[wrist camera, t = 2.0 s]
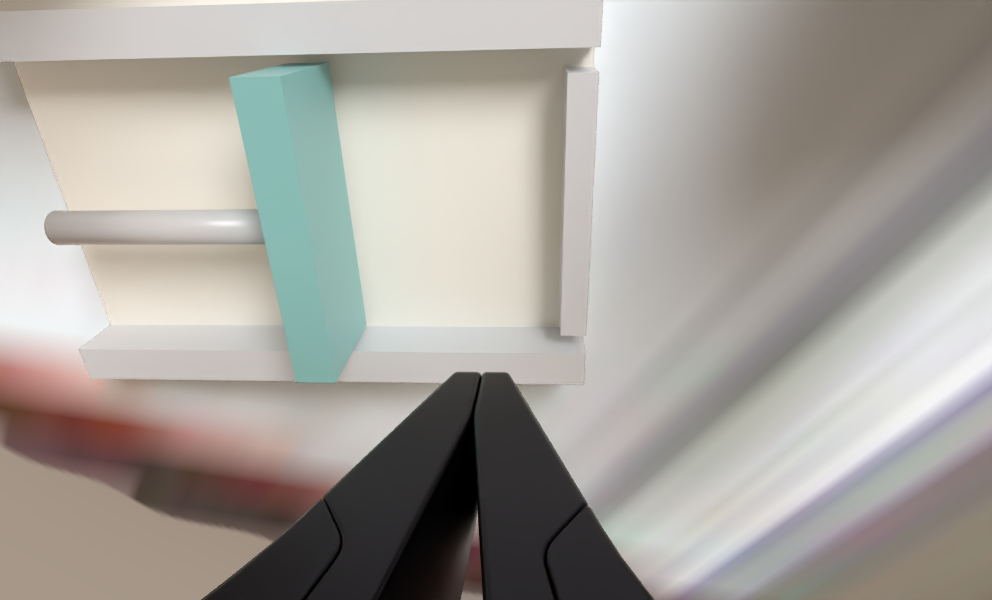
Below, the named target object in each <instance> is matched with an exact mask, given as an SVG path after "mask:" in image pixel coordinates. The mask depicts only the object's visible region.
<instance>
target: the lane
mask: <svg viewBox="0 0 992 600" xmlns="http://www.w3.org/2000/svg"><path fill="white" fill-rule="evenodd" d="M602 13H603V0H0V62H13V63H14V65H15V68H16V71H17V73H18V76H19V79H20V82H21V84H22V87H23V90H24V92H25V95H26V98H27V100H28V103H29V106H30V108H31V111H32V114H33V116H34V119H35V122H36V125H37V127H38V130H39V133H40V135H41V138H42V141H43V143H44V146H45V149H46V151H47V154H48V157H49V160H50V162H51V165H52V168H53V170H54V173H55V176H56V178H57V181H58V184H59V186H60V189H61V192H62V194H63V197H64V200H65V203H66V205H67V208H68V211H92V210H228V209H258V208H257V204H256V199H255V194H254V190H253V185H252V181H251V176H250V172H249V167H248V163H247V158H246V153H245V149H244V144H243V140H242V135H241V131H240V126H239V121H238V117H237V112H236V108H235V103H234V99H233V94H232V90H231V85H230V80H229V77H233V76H237V75H241V74H245V73H249V72H253V71H257V70H261V69H265V68H269V67H273V66H277V65H281V64H285V63H316V62H329V69H330V76H331V82H332V89H333V96H334V103H335V110H336V117H337V124H338V131H339V138H340V144H341V151H342V158H343V165H344V172H345V179H346V186H347V193H348V200H349V206H350V213H351V220H352V227H353V234H354V241H355V248H356V255H357V262H358V268H359V275H360V282H361V289H362V296H363V303H364V310H365V317H366V326H365V328H364V330H363V332H362V334H361V336H360V338H359V340H358V342H357V344H356V345H355V347H354V349H353V351H352V353H351V355H350V357H349V359H348V361H347V363H346V365H345V367H344V368H343V370H342V372H341V374H340V376H339V378H338V380H337V382H400V383H444V382H445V381H446V380H447V379H448V378H449V377H450V376H451V375H452V374H453V373H455V372H479V373H480V374H481V376H482V374H483V373H485V372H507V373H509V375H510V376H511V377H512V379H513V381H514V382H515V384H565V385H584V373H585V347H584V340H583V336H586V326H587V306H588V286H589V266H590V246H591V226H592V205H593V185H594V165H595V145H596V125H597V105H598V85H599V72H598V71H597V69H596V68H595V67H594V47H601V33H602ZM81 246H82V248H83V251H84V254H85V256H86V259H87V262H88V264H89V267H90V270H91V273H92V275H93V278H94V281H95V283H96V286H97V289H98V291H99V294H100V297H101V299H102V302H103V305H104V307H105V310H106V313H107V316H108V318H109V321H110V324H111V325H110V326H108V327H107V328H106V329H104V330H103V331H102V332H100V333H99V334H98V335H96V336H95V337H94V338H93V339H91V340H90V341H89V342H87V343H86V344H85V345H83V346H82V347H81V348H79V352H80V354H81V357H82V359H83V362H84V364H85V367H86V369H87V371H88V374H89V376H90V379H153V380H236V381H295V377H294V372H293V368H292V363H291V359H290V354H289V350H288V345H287V340H286V336H285V331H284V327H283V322H282V318H281V313H280V309H279V304H278V299H277V295H276V290H275V286H274V281H273V277H272V272H271V267H270V263H269V258H268V254H267V249H266V245H265V244H217V245H81Z"/></svg>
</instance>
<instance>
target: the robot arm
mask: <svg viewBox="0 0 992 600" xmlns="http://www.w3.org/2000/svg"><path fill="white" fill-rule="evenodd" d="M323 499H324V500H323ZM323 499H320V500H319V501H318V502H316V503H315V504H314V505H313V506H312V507H311V508H310V509H309V510H308V511H307V512H306V513H305V514H304V515H303V516H302V517H301V518H299V519H298V520H297V521H296V522H295V523H294V524H293V525H292V526H290V527H289V528H288V529H287V530H286V531H285V532H284V533H283V534H282V535H280V536H279V537H278V538H277V539H276V540H275V541H274V542H273V543H271V544H270V545H269V546H268V547H267V548H265V549H264V550H263V551H262V552H260V553H259V554H258V555H257V556H256V557H255V558H253V559H252V560H251V561H250V562H248V563H247V564H246V565H245V566H243V567H242V568H241V569H240V570H238V571H237V572H236V573H235V574H233V575H232V576H231V577H230V578H228V579H227V580H226V581H225V582H223V583H222V584H221V585H219V586H218V587H217V588H216V589H214V590H213V591H212V592H210V593H209V594H208V595H207V596H205V597H204V598H203V599H201V600H460V599H461V594H462V589H463V584H464V579H465V574H466V569H467V564H468V560H469V555H470V550H471V545H472V540H473V535H474V530H475V524H476V518H477V511H478V524H479V542H480V558H481V575H482V592H483V600H655V599H654V598H653V597H652V596H651V594H650V593H649V592H648V591H647V589H646V588H645V587H644V586H643V584H642V583H641V582H640V580H639V579H638V578H637V576H636V575H635V574H634V572H633V571H632V570H631V568H630V567H629V566H628V565H627V563H626V562H625V561H624V559H623V558H622V557H621V555H620V554H619V552H618V551H617V549H616V548H615V546H614V544H613V543H612V541H611V540H610V538H609V537H608V535H607V534H606V532H605V531H604V529H603V528H602V526H601V524H600V523H599V521H598V520H597V518H596V516H595V515H594V513H593V511H592V510H591V508H590V507H588V504H587V502H586V500H585V498H584V497H583V495H582V494H581V492H580V490H579V489H578V487H577V485H576V484H575V482H574V480H573V479H572V477H571V475H570V474H569V472H568V470H567V469H566V467H565V465H564V464H563V462H562V460H561V459H560V457H559V455H558V454H557V452H556V450H555V449H554V447H553V445H552V444H551V442H550V440H549V439H548V437H547V435H546V434H545V432H544V431H543V429H542V427H541V426H540V424H539V422H538V421H537V419H536V417H535V416H534V414H533V412H532V411H531V409H530V407H529V406H528V404H527V402H526V401H525V399H524V397H523V396H522V394H521V392H520V391H519V389H518V387H517V386H516V384H515V382H514V381H513V379H512V377H511V376H510V375H509V373H507V372H485V373H483V374H482V376H481V374H480V373H479V372H455V373H453V374H452V375H451V376H450V377H449V378H448V379H447V380H446V381H445V382H444V383H443V384H442V385H441V386H440V387H438V388H437V389H436V390H435V391H434V392H433V393H432V394H431V395H430V396H429V397H428V398H427V399H426V400H425V401H424V402H423V403H422V404H420V405H419V406H418V407H417V408H416V409H415V410H414V411H413V412H412V413H411V414H410V415H409V416H408V417H407V418H406V419H405V420H404V421H402V422H401V423H400V424H399V425H398V426H397V427H396V428H395V429H394V430H393V431H392V432H391V433H390V434H389V435H388V436H387V437H386V438H384V439H383V440H382V441H381V442H380V443H379V444H378V445H377V446H376V447H375V448H374V449H373V450H372V451H371V452H370V453H369V454H368V455H367V456H365V457H364V458H363V459H362V460H361V461H360V462H359V463H358V464H357V465H356V466H355V467H354V468H353V469H352V470H351V471H350V472H349V473H347V474H346V475H345V476H344V477H343V478H342V479H341V480H340V481H339V482H338V483H337V484H336V485H335V486H334V487H333V488H332V489H331V490H329V491H328V492H327V493H326V494H325V495H324V498H323Z"/></svg>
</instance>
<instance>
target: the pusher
mask: <svg viewBox="0 0 992 600" xmlns="http://www.w3.org/2000/svg"><path fill="white" fill-rule="evenodd" d="M229 80H230V85H231V90H232V94H233V99H234V103H235V108H236V112H237V117H238V121H239V126H240V131H241V135H242V140H243V144H244V149H245V153H246V158H247V163H248V167H249V172H250V176H251V181H252V185H253V190H254V194H255V199H256V204H257V208H258V209H228V210H92V211H53V212H51V213H49V214H48V215H47V217H46V219H45V223H44V229H45V233H46V235H47V237H48V239H49V240H50V241H51V242H52V243H54V244H56V245H217V244H265V245H266V249H267V254H268V258H269V263H270V267H271V272H272V277H273V281H274V286H275V290H276V295H277V299H278V304H279V309H280V313H281V318H282V322H283V327H284V331H285V336H286V340H287V345H288V350H289V354H290V359H291V363H292V368H293V372H294V377H295V381H296V383H336V382H337V380H338V378H339V376H340V374H341V372H342V370H343V368H344V367H345V365H346V363H347V361H348V359H349V357H350V355H351V353H352V351H353V349H354V347H355V345H356V344H357V342H358V340H359V338H360V336H361V334H362V332H363V330H364V328H365V326H366V317H365V310H364V303H363V296H362V289H361V282H360V275H359V268H358V262H357V255H356V248H355V241H354V234H353V227H352V220H351V213H350V206H349V200H348V193H347V186H346V179H345V172H344V165H343V158H342V151H341V144H340V138H339V131H338V124H337V117H336V110H335V103H334V96H333V89H332V82H331V76H330V69H329V62H316V63H285V64H281V65H277V66H273V67H269V68H265V69H261V70H257V71H253V72H249V73H245V74H241V75H237V76H233V77H229Z"/></svg>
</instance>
